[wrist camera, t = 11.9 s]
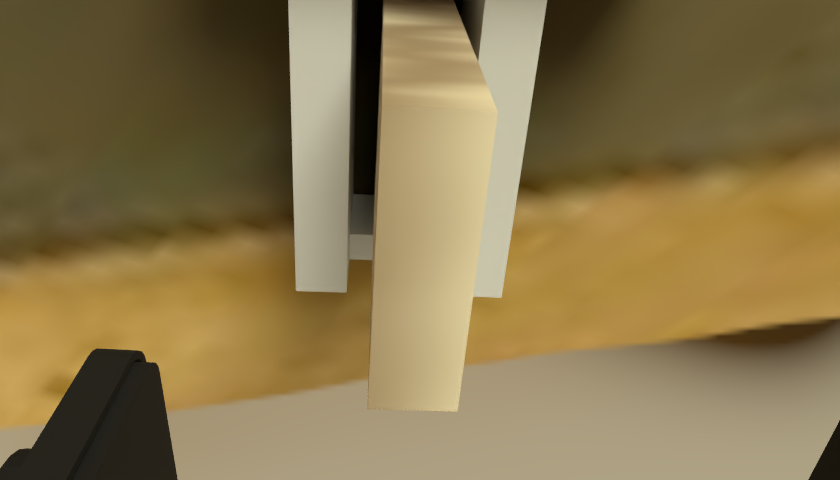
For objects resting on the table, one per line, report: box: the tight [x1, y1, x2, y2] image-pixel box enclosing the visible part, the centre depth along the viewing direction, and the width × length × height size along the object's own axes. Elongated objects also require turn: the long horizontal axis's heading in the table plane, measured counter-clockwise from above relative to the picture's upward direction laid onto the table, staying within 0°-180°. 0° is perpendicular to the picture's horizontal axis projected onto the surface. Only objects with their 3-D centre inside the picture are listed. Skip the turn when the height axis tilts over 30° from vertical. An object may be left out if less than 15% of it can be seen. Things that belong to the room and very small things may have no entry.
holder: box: [288, 0, 547, 297], centre depth 22 cm, size 7×10×5 cm, turn 176°
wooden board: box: [368, 0, 498, 411], centre depth 19 cm, size 2×7×12 cm, turn 176°
